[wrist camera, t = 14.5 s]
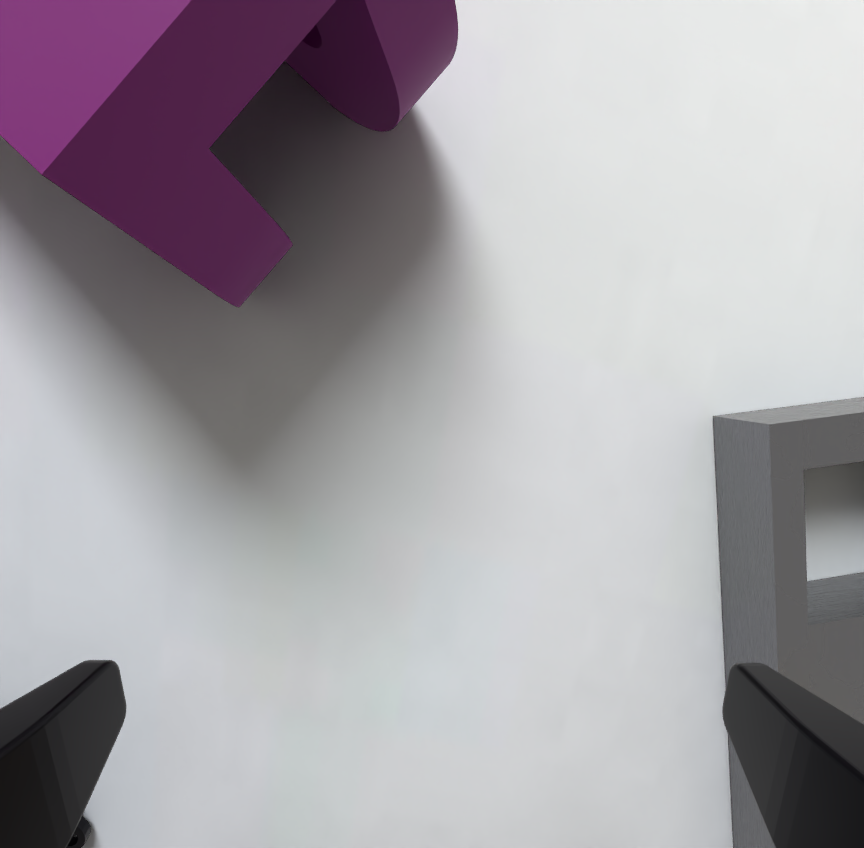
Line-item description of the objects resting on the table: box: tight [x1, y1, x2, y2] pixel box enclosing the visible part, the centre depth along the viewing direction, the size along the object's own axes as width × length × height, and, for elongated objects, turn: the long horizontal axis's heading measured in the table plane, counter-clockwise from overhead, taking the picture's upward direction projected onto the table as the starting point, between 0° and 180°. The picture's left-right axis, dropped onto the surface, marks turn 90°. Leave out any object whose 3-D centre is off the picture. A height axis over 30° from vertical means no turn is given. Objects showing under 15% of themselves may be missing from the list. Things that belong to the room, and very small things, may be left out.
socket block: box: [713, 397, 864, 848], centre depth 21 cm, size 22×8×3 cm, turn 7°
